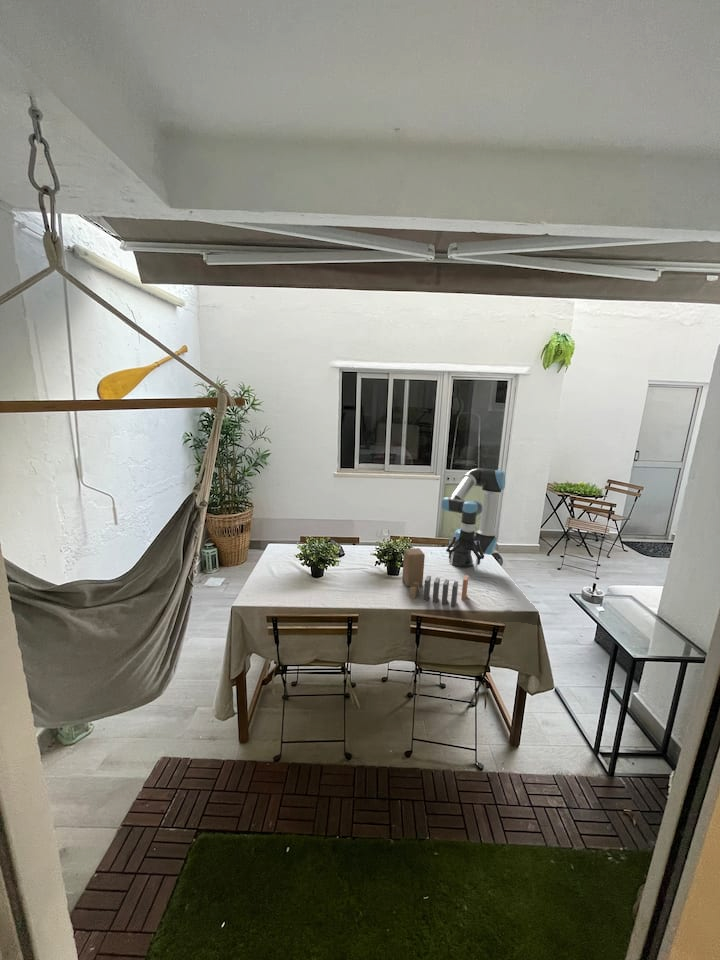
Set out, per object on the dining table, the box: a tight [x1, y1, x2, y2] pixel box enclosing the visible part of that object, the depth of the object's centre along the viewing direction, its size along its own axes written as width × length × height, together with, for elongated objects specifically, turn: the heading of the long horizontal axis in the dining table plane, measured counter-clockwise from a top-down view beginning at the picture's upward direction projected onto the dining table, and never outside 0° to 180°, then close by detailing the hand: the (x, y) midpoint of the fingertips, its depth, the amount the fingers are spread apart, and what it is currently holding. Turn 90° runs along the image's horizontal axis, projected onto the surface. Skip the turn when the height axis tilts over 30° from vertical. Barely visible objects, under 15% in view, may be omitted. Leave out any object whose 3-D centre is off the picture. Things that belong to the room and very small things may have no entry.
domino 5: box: [461, 574, 469, 601], centre depth 227 cm, size 2×6×12 cm, turn 158°
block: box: [402, 547, 425, 587], centre depth 241 cm, size 10×10×20 cm
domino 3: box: [441, 578, 450, 606], centre depth 221 cm, size 2×6×12 cm, turn 157°
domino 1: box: [423, 575, 432, 602], centre depth 225 cm, size 2×6×12 cm, turn 157°
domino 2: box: [431, 577, 441, 604], centre depth 223 cm, size 2×6×12 cm, turn 157°
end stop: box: [409, 582, 420, 600], centre depth 228 cm, size 8×3×6 cm, turn 157°
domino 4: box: [450, 580, 459, 608], centre depth 219 cm, size 2×6×12 cm, turn 157°
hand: (463, 567), depth 224 cm, fingers open, 13 cm apart
